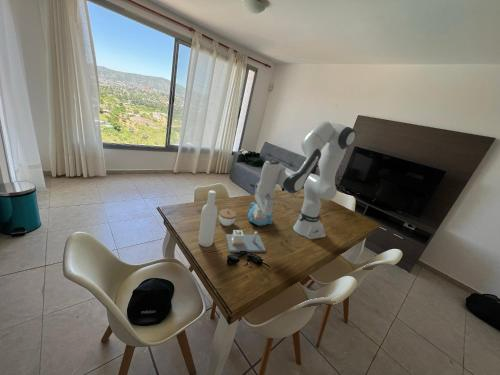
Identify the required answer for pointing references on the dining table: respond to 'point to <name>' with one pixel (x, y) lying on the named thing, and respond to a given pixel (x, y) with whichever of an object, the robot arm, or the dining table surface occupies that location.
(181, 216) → the dining table surface
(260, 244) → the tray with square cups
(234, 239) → the seated sleeve
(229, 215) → the lidded jar
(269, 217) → the decorative pot
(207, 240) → the bottle
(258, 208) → the sleeve
